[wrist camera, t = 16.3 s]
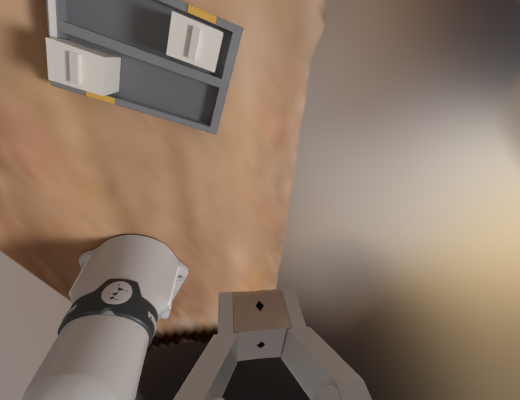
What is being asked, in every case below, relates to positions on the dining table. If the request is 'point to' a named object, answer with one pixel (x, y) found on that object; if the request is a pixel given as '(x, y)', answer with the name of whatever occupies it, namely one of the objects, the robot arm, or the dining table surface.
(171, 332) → the dining table surface
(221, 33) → the white sliding block
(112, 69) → the white cube-shaped block
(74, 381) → the robot arm
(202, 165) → the dining table surface
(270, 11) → the dining table surface
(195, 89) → the switch board
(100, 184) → the dining table surface
